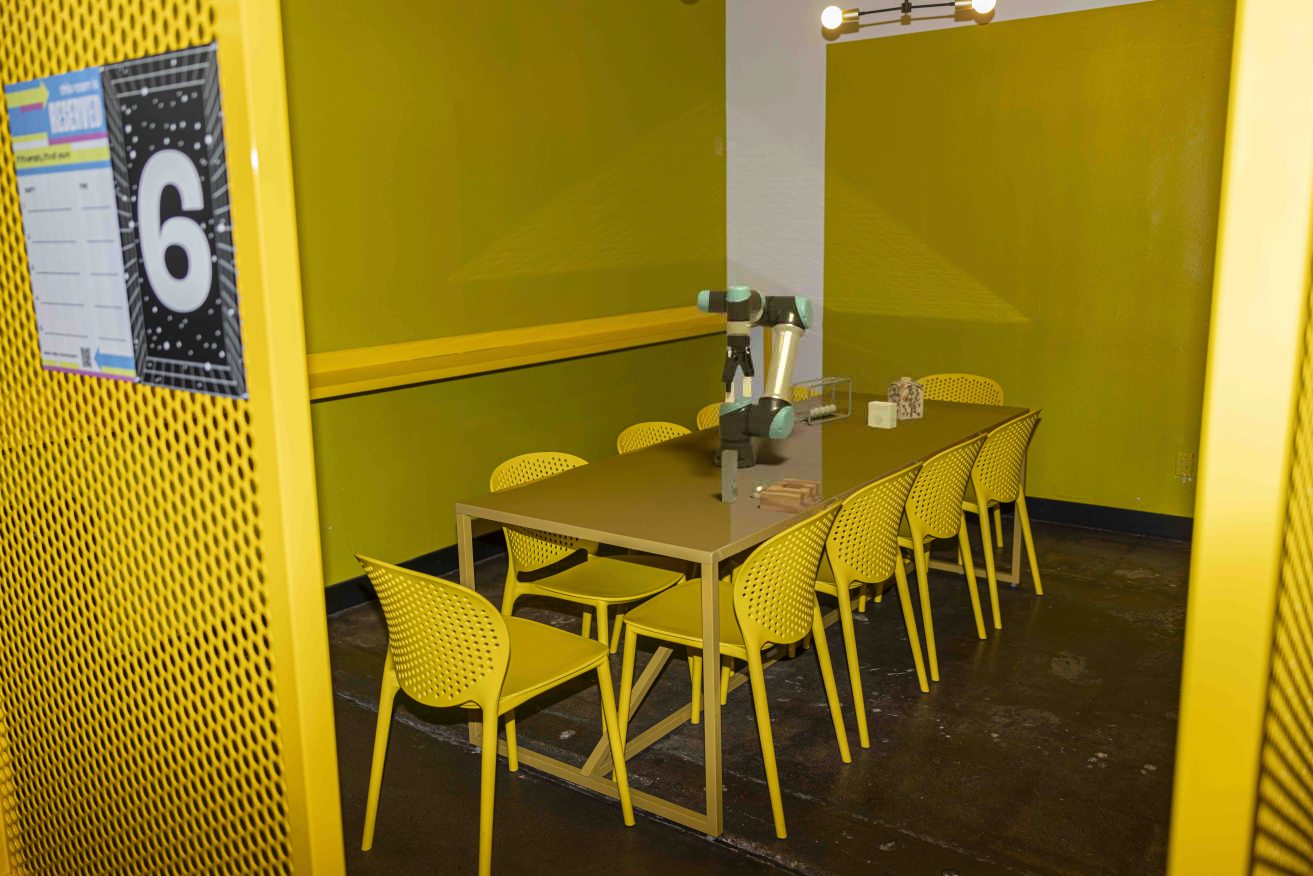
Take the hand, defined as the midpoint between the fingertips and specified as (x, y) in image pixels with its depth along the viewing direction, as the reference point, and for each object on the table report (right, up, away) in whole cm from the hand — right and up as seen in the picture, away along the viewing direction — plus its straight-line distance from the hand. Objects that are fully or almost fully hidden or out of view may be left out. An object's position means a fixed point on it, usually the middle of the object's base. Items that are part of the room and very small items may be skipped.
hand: (738, 399), depth 320 cm
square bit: (-4, -32, -14) cm, 36 cm away
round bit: (+7, -31, -7) cm, 32 cm away
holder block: (+15, -33, -18) cm, 40 cm away
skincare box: (+70, -8, +99) cm, 121 cm away
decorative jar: (+84, -4, +119) cm, 146 cm away
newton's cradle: (+47, -5, +117) cm, 126 cm away
